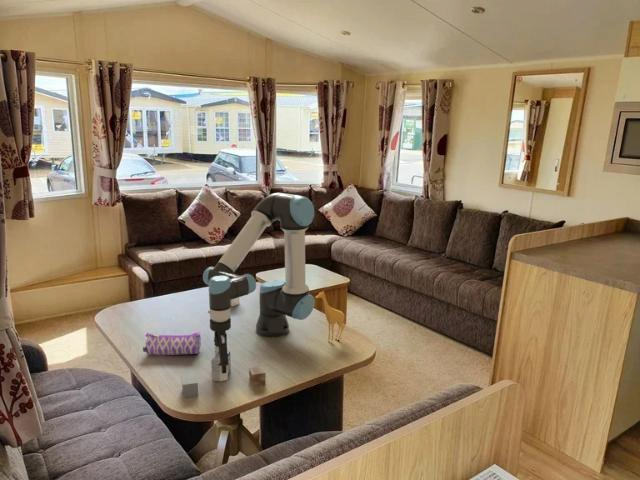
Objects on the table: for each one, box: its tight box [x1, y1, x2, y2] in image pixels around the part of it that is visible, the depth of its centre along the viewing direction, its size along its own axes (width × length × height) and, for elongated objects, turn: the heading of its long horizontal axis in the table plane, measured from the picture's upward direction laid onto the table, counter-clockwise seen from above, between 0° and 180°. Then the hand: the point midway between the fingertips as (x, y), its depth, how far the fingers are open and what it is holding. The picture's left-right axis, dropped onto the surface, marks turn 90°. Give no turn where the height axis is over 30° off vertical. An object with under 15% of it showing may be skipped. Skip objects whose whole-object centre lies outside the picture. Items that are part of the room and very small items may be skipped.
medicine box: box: [210, 350, 232, 383], centre depth 178 cm, size 8×4×9 cm, turn 168°
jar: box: [231, 297, 240, 307], centre depth 247 cm, size 9×8×12 cm
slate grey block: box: [181, 375, 199, 398], centre depth 167 cm, size 5×5×5 cm
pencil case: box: [142, 331, 202, 356], centre depth 194 cm, size 22×9×10 cm, turn 96°
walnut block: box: [248, 365, 267, 388], centre depth 175 cm, size 5×5×5 cm
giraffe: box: [314, 290, 346, 341], centre depth 205 cm, size 16×4×25 cm, turn 125°
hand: (221, 370), depth 178 cm, fingers open, 13 cm apart
